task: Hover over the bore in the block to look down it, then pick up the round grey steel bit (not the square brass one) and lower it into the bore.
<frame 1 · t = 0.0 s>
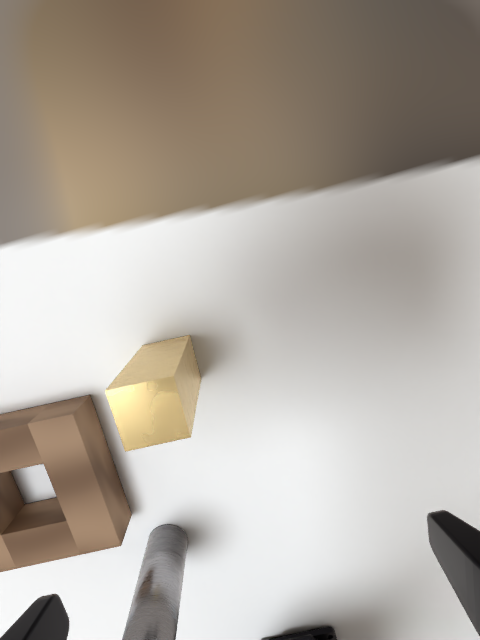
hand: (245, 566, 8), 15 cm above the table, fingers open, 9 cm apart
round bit: (168, 540, 25), on the table
square bit: (172, 362, 22), on the table
bore block: (43, 472, 23), on the table
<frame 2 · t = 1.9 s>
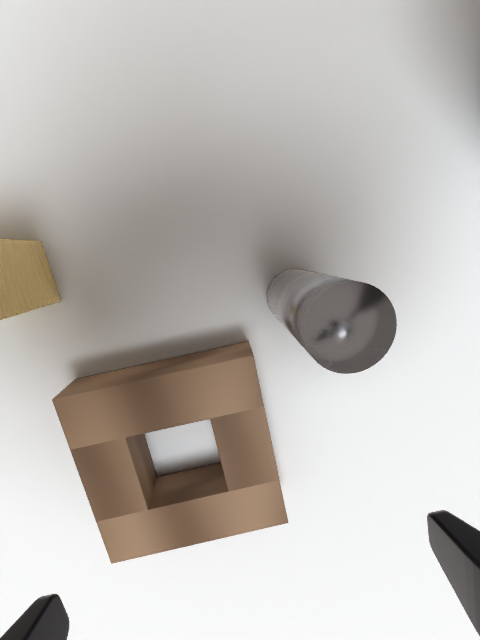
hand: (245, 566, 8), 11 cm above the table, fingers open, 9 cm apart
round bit: (293, 295, 18), on the table
square bit: (21, 278, 17), on the table
bore block: (183, 437, 19), on the table
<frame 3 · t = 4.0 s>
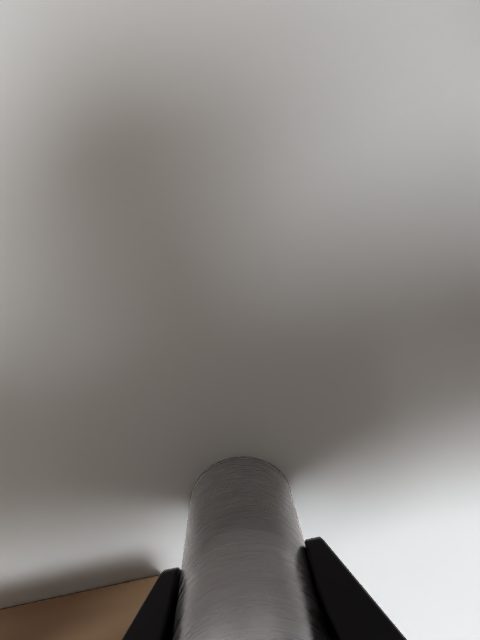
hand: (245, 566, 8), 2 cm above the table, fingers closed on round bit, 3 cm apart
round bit: (241, 501, 10), on the table, touching gripper
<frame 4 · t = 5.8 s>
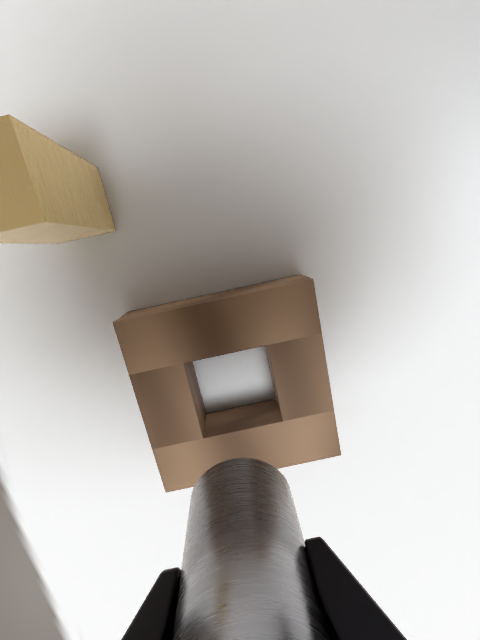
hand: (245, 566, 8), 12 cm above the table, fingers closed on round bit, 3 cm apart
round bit: (241, 502, 10), point 10 cm above the table, touching gripper
square bit: (77, 206, 17), on the table
bore block: (233, 373, 19), on the table
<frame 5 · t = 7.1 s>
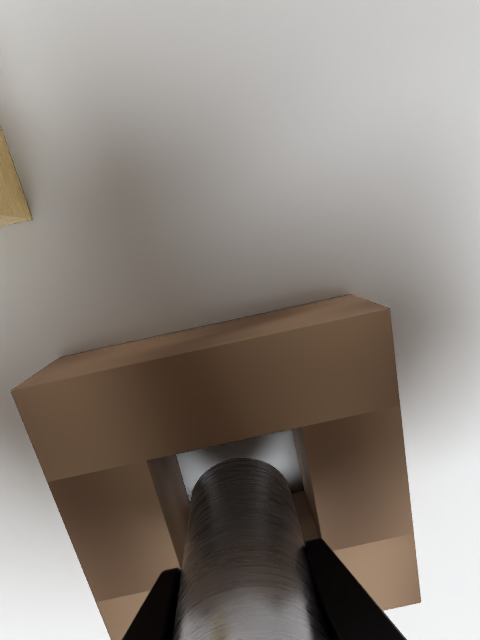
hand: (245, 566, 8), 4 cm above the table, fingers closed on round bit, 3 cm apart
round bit: (241, 502, 10), point 2 cm above the table, touching gripper
bore block: (236, 453, 12), on the table
when the fingers open (3 cm above the table, at t = 8.0 s): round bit drops 1 cm, resting in bore block.
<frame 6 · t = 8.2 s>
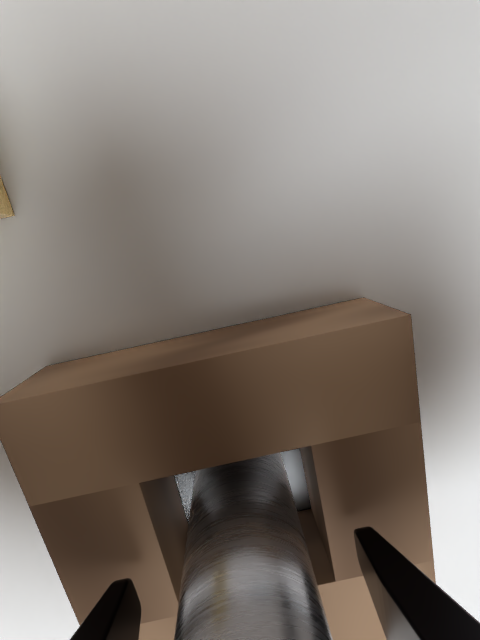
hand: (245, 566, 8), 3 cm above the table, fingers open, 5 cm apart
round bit: (239, 468, 11), resting in bore block
bore block: (238, 469, 11), on the table
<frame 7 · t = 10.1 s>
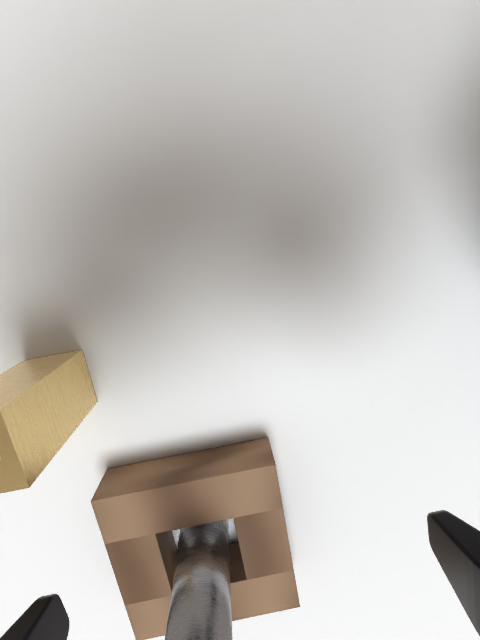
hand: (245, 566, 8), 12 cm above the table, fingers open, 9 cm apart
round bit: (204, 519, 21), resting in bore block
square bit: (62, 381, 18), on the table
bore block: (204, 520, 21), on the table
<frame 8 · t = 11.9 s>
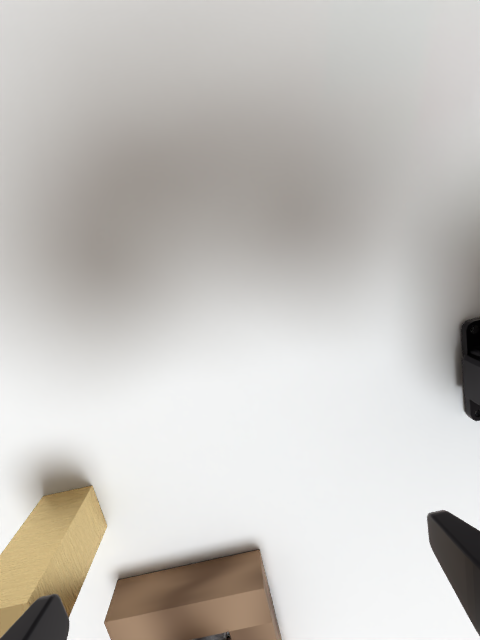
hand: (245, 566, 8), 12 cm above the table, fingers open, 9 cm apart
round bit: (205, 618, 23), resting in bore block
square bit: (75, 511, 21), on the table
bore block: (205, 618, 23), on the table
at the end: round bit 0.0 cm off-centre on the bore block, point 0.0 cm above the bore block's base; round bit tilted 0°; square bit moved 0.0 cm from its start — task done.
